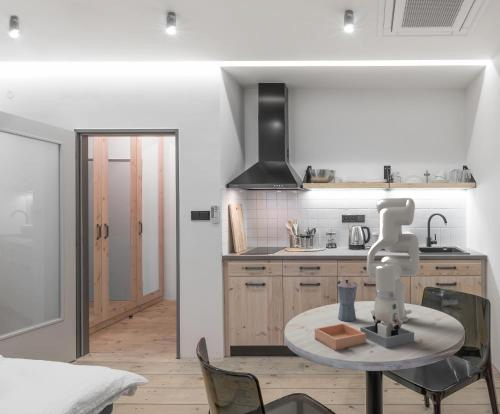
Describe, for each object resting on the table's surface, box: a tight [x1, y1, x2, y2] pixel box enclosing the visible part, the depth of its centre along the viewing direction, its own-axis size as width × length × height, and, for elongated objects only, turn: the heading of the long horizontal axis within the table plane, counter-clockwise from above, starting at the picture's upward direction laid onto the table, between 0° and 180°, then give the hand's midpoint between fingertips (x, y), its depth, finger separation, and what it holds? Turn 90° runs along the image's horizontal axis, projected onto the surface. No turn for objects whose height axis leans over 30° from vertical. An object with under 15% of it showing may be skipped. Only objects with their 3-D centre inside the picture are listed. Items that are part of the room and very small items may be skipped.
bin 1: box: [314, 322, 367, 352], centre depth 155 cm, size 15×15×4 cm
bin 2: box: [359, 324, 415, 349], centre depth 155 cm, size 15×15×4 cm
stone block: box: [377, 322, 395, 337], centre depth 155 cm, size 5×5×6 cm
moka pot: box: [336, 279, 358, 323], centre depth 186 cm, size 10×15×20 cm, turn 24°
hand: (386, 335), depth 155 cm, fingers open, 8 cm apart
